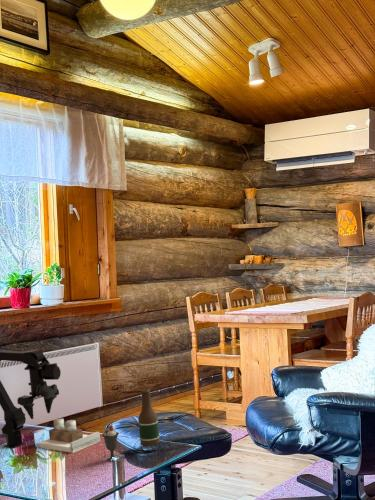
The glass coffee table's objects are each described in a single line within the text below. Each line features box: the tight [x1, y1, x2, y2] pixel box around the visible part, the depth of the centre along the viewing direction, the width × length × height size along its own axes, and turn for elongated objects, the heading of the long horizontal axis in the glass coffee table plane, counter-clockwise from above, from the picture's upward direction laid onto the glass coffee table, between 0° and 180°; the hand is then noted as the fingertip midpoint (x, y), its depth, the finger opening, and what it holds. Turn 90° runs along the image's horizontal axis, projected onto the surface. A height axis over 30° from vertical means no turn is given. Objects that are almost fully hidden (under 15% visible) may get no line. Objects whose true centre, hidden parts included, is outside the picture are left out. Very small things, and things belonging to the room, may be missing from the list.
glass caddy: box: [48, 418, 84, 443], centre depth 304 cm, size 14×6×8 cm, turn 53°
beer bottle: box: [138, 388, 161, 446], centre depth 286 cm, size 8×8×24 cm
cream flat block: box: [39, 431, 101, 454], centre depth 303 cm, size 20×16×4 cm
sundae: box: [101, 422, 120, 463], centre depth 277 cm, size 7×7×15 cm
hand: (40, 415), depth 304 cm, fingers open, 9 cm apart
